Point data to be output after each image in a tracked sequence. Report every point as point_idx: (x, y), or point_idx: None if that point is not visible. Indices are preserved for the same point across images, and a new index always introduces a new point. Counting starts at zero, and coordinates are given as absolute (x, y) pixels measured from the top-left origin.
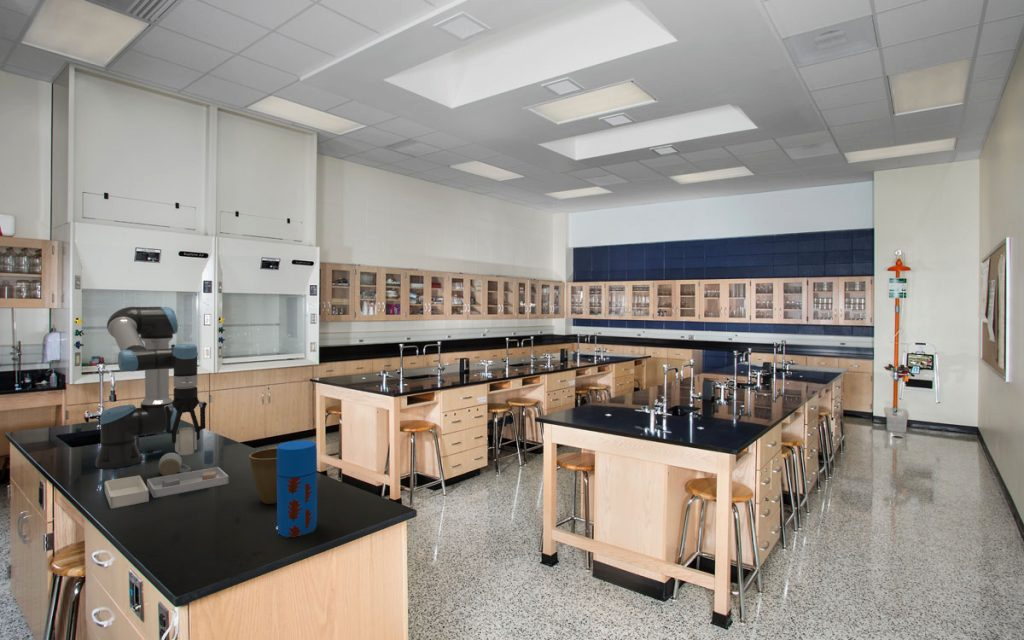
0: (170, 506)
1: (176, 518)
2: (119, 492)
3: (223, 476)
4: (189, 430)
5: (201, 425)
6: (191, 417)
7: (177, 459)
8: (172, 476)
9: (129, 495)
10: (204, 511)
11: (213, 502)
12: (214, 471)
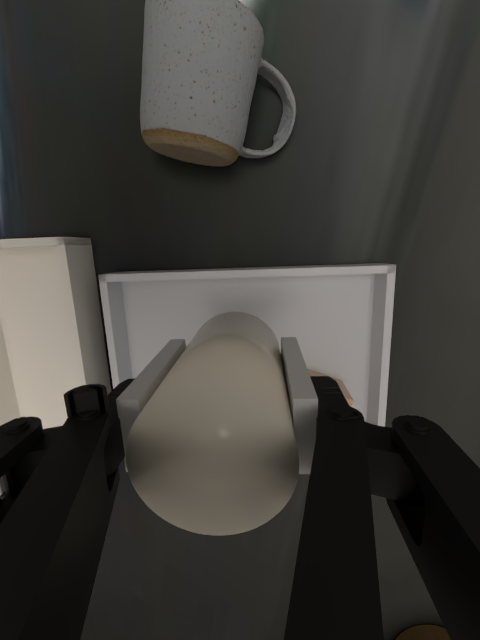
0: (172, 524)
1: (178, 616)
2: (28, 294)
3: (375, 384)
4: (240, 528)
5: (398, 510)
6: (295, 585)
7: (226, 120)
8: (195, 278)
9: None
10: (245, 613)
11: (280, 565)
12: (346, 398)
